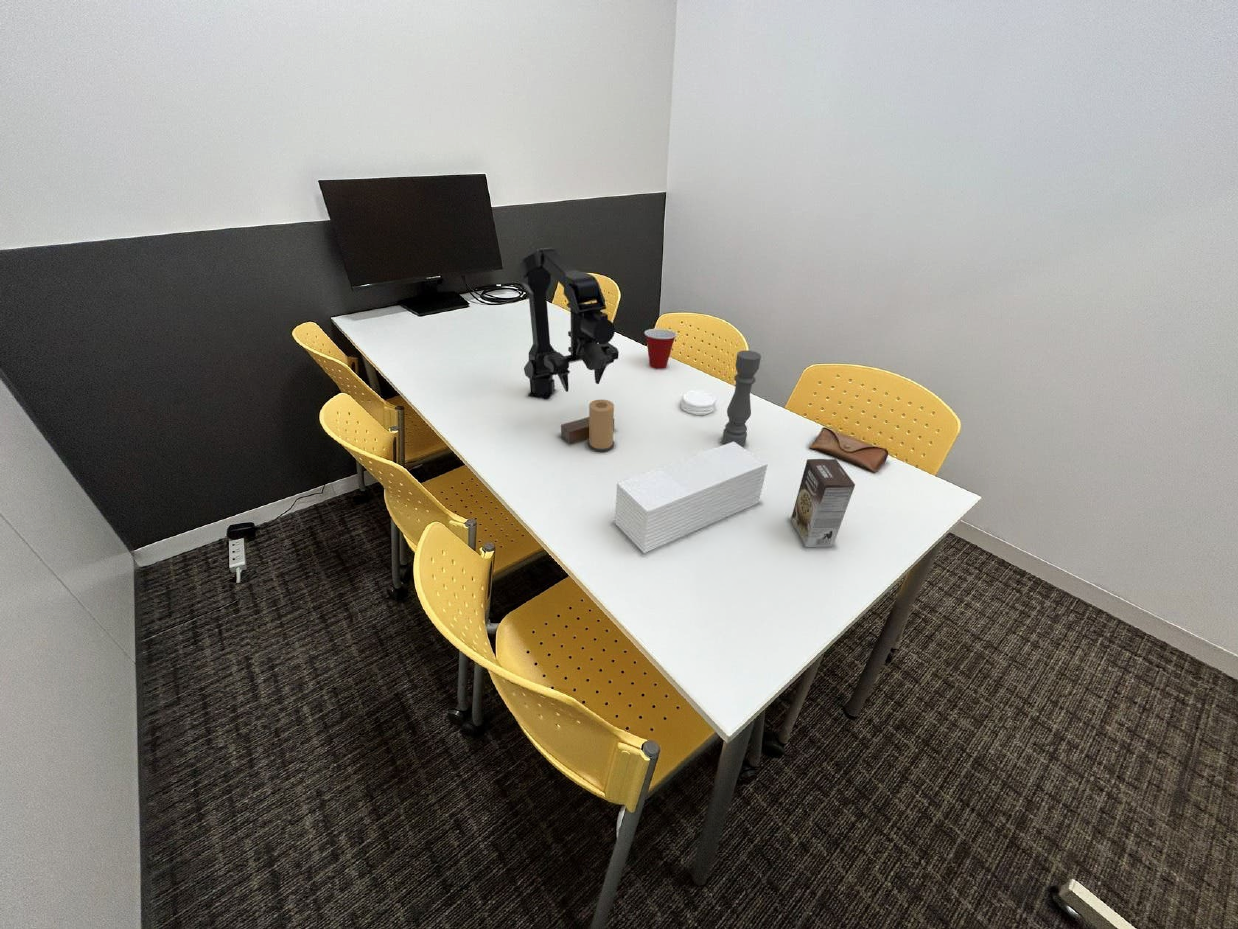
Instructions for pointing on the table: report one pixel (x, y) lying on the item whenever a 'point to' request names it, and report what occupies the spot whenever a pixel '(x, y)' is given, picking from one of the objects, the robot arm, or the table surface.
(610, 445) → the tan cylinder
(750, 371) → the candle holder
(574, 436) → the walnut block
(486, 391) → the table surface
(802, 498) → the brown food box
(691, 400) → the coaster
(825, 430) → the sunglasses case
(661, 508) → the stack of papers
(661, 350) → the plastic cup
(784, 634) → the table surface
